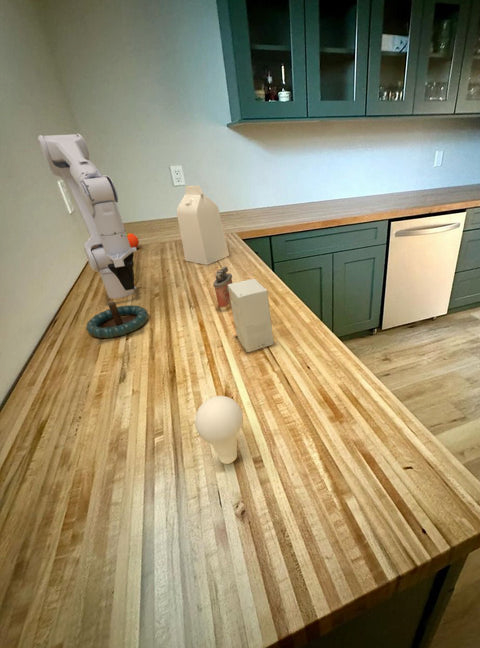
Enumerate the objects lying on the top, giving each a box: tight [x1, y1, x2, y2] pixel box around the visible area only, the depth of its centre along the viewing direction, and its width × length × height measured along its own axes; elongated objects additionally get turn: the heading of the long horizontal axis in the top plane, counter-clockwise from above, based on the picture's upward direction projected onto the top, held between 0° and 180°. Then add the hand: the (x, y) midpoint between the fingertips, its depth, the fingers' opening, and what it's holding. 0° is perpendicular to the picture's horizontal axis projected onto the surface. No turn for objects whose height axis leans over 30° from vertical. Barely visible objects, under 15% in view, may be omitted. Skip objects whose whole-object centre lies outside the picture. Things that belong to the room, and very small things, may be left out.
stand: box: [99, 301, 141, 330], centre depth 82 cm, size 9×9×7 cm
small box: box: [228, 278, 275, 353], centre depth 72 cm, size 8×6×13 cm
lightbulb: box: [194, 395, 244, 465], centre depth 45 cm, size 6×6×11 cm
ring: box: [85, 304, 149, 339], centre depth 83 cm, size 14×14×2 cm
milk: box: [176, 185, 230, 266], centre depth 123 cm, size 12×12×26 cm
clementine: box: [126, 232, 140, 249], centre depth 145 cm, size 8×7×7 cm
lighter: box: [212, 265, 233, 308], centre depth 90 cm, size 8×3×10 cm, turn 168°
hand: (130, 285), depth 87 cm, fingers open, 5 cm apart
